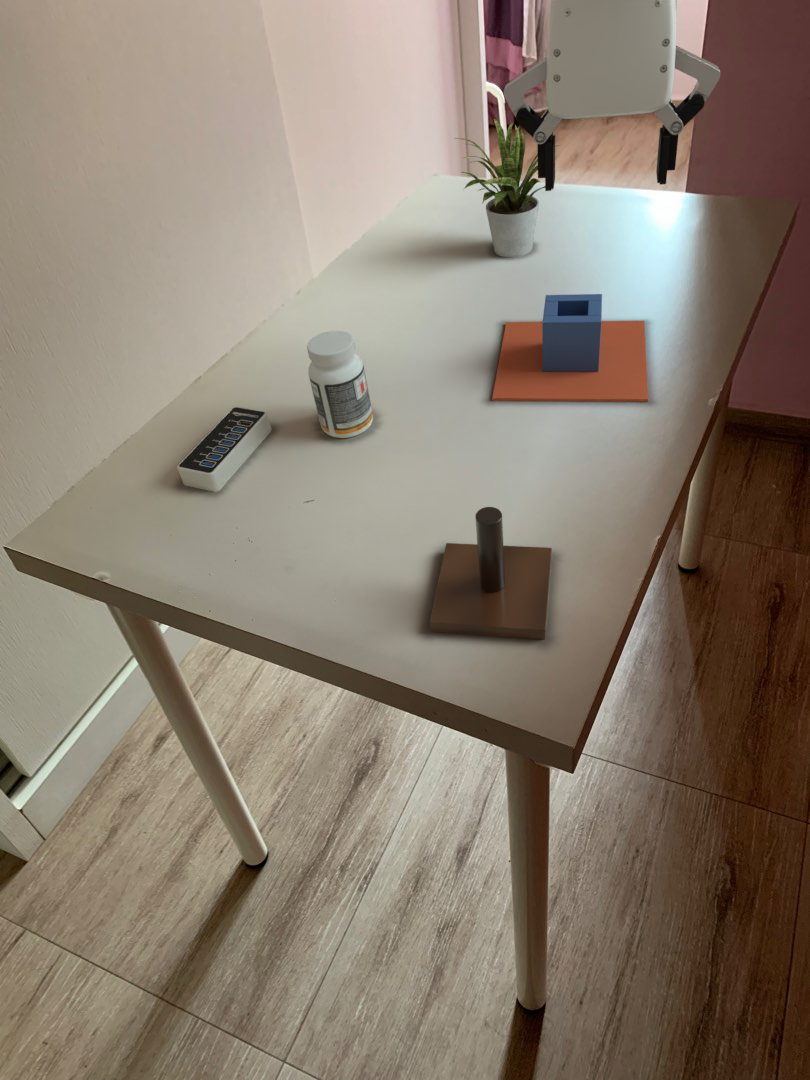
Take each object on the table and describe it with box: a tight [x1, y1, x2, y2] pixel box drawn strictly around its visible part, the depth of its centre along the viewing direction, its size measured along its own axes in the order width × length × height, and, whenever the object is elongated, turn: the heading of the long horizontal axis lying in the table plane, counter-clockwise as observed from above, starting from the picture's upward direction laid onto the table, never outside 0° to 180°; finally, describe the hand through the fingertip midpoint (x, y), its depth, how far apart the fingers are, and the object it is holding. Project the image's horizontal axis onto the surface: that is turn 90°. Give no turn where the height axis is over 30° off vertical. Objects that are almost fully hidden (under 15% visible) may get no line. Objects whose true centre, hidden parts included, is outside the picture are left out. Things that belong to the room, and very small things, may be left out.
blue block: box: [541, 293, 603, 372], centre depth 88 cm, size 6×6×6 cm
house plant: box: [455, 118, 560, 258], centre depth 107 cm, size 14×14×16 cm
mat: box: [491, 320, 649, 403], centre depth 90 cm, size 16×16×1 cm
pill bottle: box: [306, 330, 374, 439], centre depth 83 cm, size 6×6×10 cm
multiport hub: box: [176, 406, 273, 493], centre depth 84 cm, size 4×11×2 cm, turn 156°
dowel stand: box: [429, 506, 553, 640], centre depth 63 cm, size 9×9×9 cm
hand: (604, 182), depth 72 cm, fingers open, 9 cm apart
